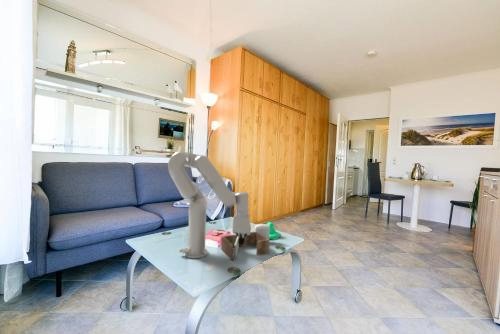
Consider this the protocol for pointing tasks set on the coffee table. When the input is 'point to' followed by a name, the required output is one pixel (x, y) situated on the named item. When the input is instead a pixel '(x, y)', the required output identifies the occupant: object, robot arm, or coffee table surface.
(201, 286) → the coffee table surface
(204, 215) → the robot arm
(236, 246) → the door
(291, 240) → the coffee table surface
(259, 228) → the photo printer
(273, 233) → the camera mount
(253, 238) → the brown wooden open box
